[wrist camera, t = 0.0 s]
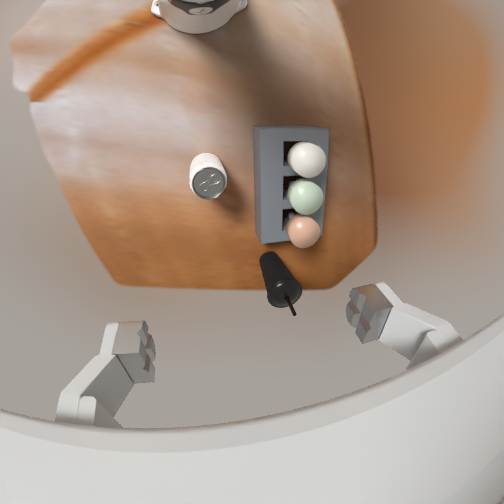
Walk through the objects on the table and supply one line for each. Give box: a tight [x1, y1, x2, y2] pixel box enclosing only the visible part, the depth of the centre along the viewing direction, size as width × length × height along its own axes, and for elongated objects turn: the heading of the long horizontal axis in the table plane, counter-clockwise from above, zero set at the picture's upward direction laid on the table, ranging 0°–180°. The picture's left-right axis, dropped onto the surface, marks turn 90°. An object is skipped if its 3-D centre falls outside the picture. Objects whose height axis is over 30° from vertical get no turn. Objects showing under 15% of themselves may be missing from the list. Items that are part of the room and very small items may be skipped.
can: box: [189, 153, 227, 199], centre depth 48 cm, size 6×6×12 cm
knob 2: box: [286, 212, 320, 248], centre depth 54 cm, size 6×6×8 cm
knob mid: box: [287, 179, 323, 215], centre depth 51 cm, size 6×6×8 cm
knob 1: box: [288, 142, 326, 178], centre depth 47 cm, size 6×6×8 cm
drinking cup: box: [260, 252, 302, 316], centre depth 59 cm, size 8×8×20 cm
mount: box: [253, 126, 329, 244], centre depth 55 cm, size 24×14×6 cm, turn 1°
